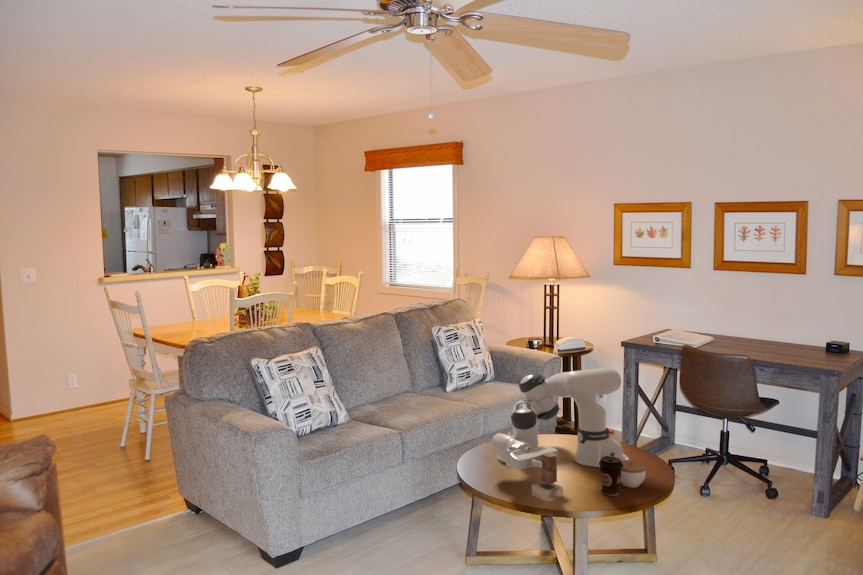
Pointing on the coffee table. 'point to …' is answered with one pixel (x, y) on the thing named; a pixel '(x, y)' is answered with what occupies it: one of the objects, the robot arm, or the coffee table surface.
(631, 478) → the lidded jar
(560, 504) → the coffee table surface
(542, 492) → the birch plinth
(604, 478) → the coffee cup
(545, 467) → the walnut pillar
